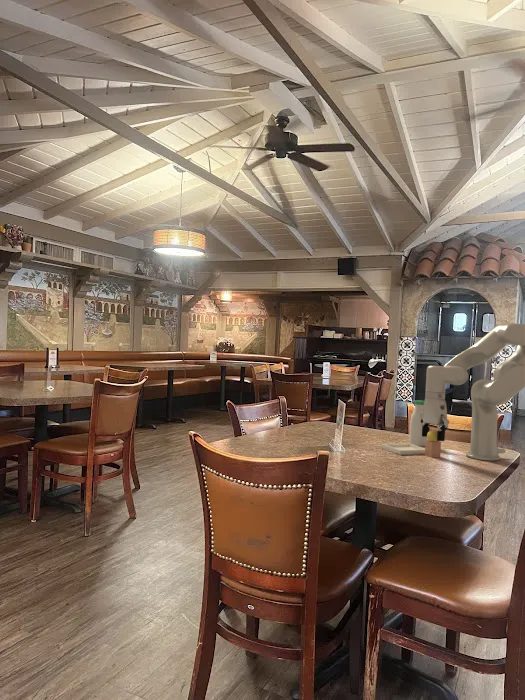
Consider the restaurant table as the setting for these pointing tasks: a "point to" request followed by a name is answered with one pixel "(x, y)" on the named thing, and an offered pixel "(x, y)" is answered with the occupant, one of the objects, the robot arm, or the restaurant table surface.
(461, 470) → the restaurant table surface
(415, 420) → the milk bottle
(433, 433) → the ball
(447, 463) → the restaurant table surface
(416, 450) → the tray
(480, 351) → the robot arm
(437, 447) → the brown rectangular block
